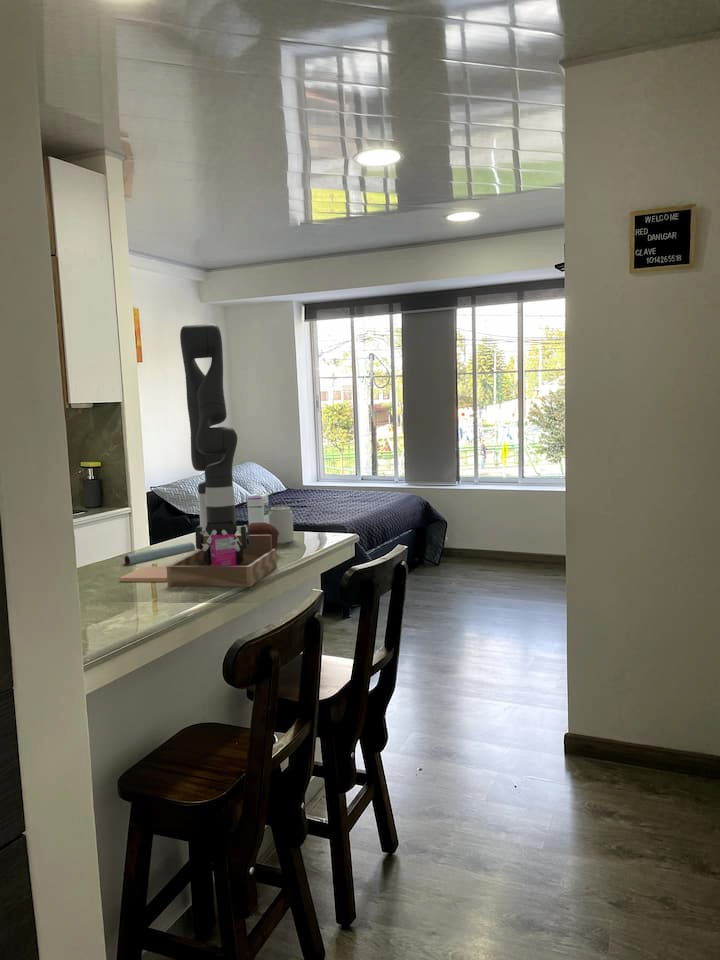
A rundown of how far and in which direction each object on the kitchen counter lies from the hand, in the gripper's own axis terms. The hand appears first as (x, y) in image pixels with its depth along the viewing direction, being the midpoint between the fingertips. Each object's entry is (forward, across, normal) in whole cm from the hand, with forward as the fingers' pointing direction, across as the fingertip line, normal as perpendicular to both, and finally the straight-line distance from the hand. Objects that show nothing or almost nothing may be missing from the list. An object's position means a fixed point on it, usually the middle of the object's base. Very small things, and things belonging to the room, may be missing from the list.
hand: (223, 564), depth 196 cm
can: (+3, -3, -44) cm, 44 cm away
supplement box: (+3, 0, 0) cm, 3 cm away
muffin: (+3, -2, -25) cm, 25 cm away
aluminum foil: (+4, +27, -22) cm, 36 cm away
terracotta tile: (+3, +20, 0) cm, 20 cm away
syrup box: (+3, +9, -58) cm, 59 cm away
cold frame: (+3, 0, 0) cm, 3 cm away
